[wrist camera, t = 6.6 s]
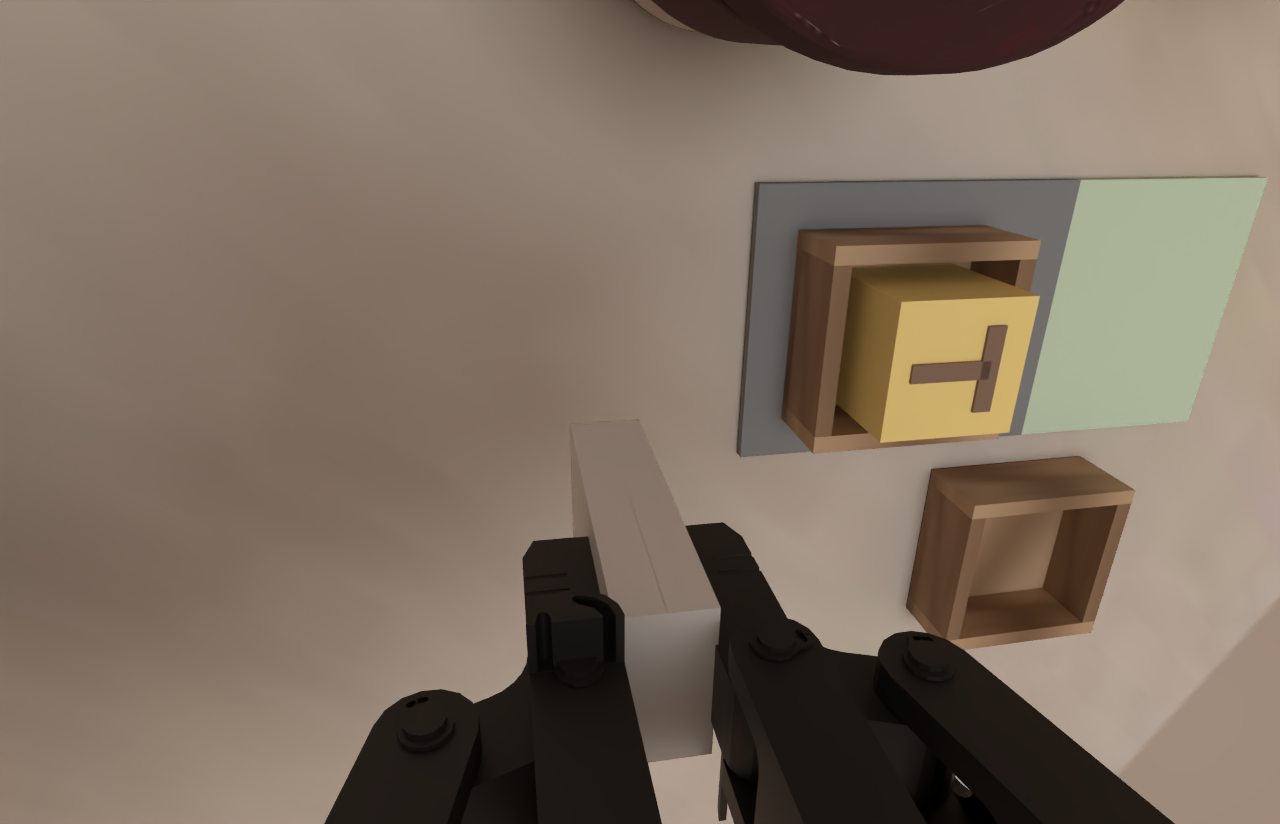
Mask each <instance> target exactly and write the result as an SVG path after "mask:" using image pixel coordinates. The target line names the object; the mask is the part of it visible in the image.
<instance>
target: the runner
mask: <svg viewBox="0 0 1280 824" xmlns="http://www.w3.org/2000/svg"><path fill="white" fill-rule="evenodd" d="M1267 179H1268V178H1266V177H1179V178H1094V179H1010V180H925V181H840V182H756V186H755V200H754V215H753V229H752V244H751V259H750V273H749V288H748V302H747V317H746V331H745V346H744V361H743V375H742V390H741V404H740V419H739V433H738V448H737V453H738V454H739V456H740V457H747V456H760V455H772V454H785V453H797V452H810V450H809V449H808V447H807V446H806V445H805V444H804V443H803V442H802V441H801V440H800V439H799V438H798V436H797V435H796V434H795V433H794V432H793V431H792V430H791V429H790V428H789V426H788V425H787V424H786V423H785V422H784V421H783V420H782V419H781V414H782V404H783V393H784V382H785V371H786V361H787V350H788V339H789V328H790V318H791V307H792V296H793V285H794V274H795V264H796V253H797V242H798V231H799V229H835V228H877V227H919V226H961V225H987V226H990V227H994V228H998V229H1001V230H1005V231H1009V232H1012V233H1016V234H1020V235H1023V236H1027V237H1031V238H1034V239H1038V240H1041V244H1040V249H1039V253H1038V258H1037V262H1036V267H1035V271H1034V276H1033V281H1032V285H1031V290H1030V292H1031V293H1034V294H1036V295H1039V296H1040V298H1039V303H1038V307H1037V312H1036V316H1035V321H1034V325H1033V329H1032V334H1031V338H1030V343H1029V347H1028V351H1027V356H1026V360H1025V365H1024V369H1023V373H1022V378H1021V382H1020V387H1019V391H1018V395H1017V400H1016V404H1015V409H1014V413H1013V417H1012V422H1011V426H1010V431H1009V433H999V434H998V436H1009V435H1022V434H1034V433H1047V432H1059V431H1072V430H1084V429H1097V428H1109V427H1122V426H1134V425H1147V424H1159V423H1172V422H1184V421H1188V419H1189V416H1190V413H1191V410H1192V407H1193V404H1194V401H1195V398H1196V395H1197V392H1198V389H1199V386H1200V383H1201V380H1202V377H1203V374H1204V371H1205V368H1206V365H1207V362H1208V359H1209V356H1210V352H1211V349H1212V346H1213V343H1214V340H1215V337H1216V334H1217V331H1218V328H1219V325H1220V322H1221V319H1222V316H1223V313H1224V310H1225V307H1226V304H1227V301H1228V298H1229V295H1230V292H1231V289H1232V286H1233V283H1234V280H1235V277H1236V274H1237V270H1238V267H1239V264H1240V261H1241V258H1242V255H1243V252H1244V249H1245V246H1246V243H1247V240H1248V237H1249V234H1250V231H1251V228H1252V225H1253V222H1254V219H1255V216H1256V213H1257V210H1258V207H1259V204H1260V201H1261V198H1262V195H1263V192H1264V188H1265V185H1266V182H1267Z"/></svg>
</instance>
